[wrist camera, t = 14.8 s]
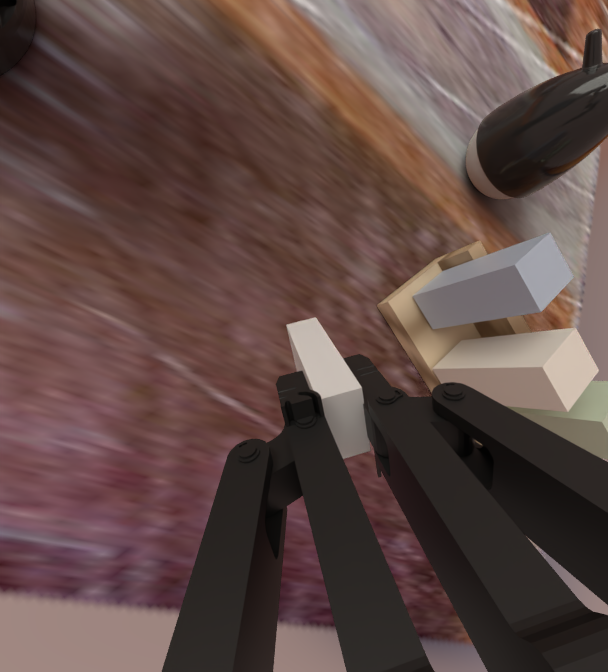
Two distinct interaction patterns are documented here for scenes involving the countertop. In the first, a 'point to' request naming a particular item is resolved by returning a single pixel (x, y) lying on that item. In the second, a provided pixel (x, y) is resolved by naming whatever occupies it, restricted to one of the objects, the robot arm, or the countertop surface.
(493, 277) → the slate key
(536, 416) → the pale green tall block
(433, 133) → the countertop surface
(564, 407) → the cream rectangular block
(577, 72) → the pump dispenser
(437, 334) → the wooden key holder base
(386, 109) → the countertop surface
